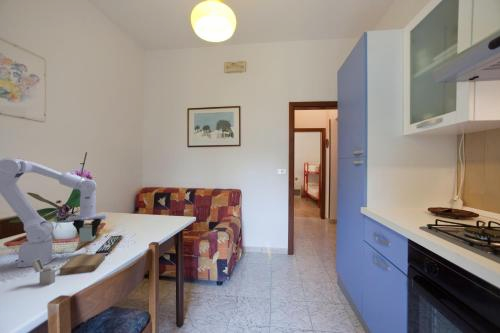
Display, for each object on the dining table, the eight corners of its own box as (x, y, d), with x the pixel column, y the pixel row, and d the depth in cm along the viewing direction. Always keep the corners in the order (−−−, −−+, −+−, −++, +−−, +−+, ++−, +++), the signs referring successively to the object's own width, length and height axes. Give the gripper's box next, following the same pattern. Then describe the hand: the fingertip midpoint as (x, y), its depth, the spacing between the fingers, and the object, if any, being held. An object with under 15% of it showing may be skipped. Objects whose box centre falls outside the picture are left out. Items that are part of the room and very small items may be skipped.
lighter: (55, 281, 72) (55, 258, 72) (50, 284, 71) (50, 261, 71) (36, 280, 73) (36, 258, 73) (30, 283, 71) (31, 260, 71)
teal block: (79, 241, 92) (79, 228, 92) (84, 238, 96) (84, 225, 96) (91, 241, 94) (91, 227, 94) (95, 237, 98) (95, 225, 98)
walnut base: (59, 276, 77) (59, 268, 77) (74, 262, 87) (74, 255, 87) (94, 272, 80) (94, 264, 80) (105, 259, 91) (105, 252, 91)
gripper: (63, 208, 89) (63, 240, 89) (103, 207, 93) (102, 237, 93) (72, 205, 96) (71, 235, 96) (108, 204, 100) (108, 232, 100)
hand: (87, 236), depth 95 cm, fingers closed on teal block, 4 cm apart
